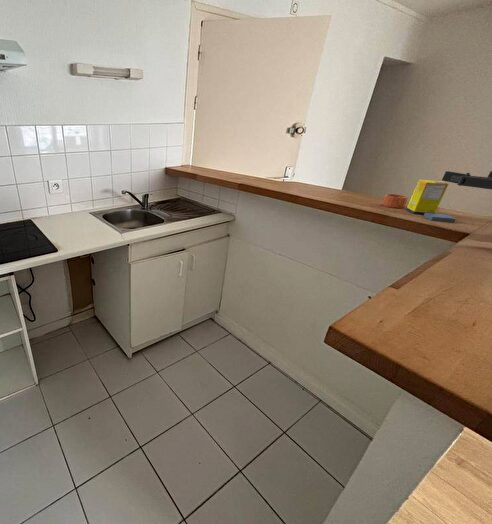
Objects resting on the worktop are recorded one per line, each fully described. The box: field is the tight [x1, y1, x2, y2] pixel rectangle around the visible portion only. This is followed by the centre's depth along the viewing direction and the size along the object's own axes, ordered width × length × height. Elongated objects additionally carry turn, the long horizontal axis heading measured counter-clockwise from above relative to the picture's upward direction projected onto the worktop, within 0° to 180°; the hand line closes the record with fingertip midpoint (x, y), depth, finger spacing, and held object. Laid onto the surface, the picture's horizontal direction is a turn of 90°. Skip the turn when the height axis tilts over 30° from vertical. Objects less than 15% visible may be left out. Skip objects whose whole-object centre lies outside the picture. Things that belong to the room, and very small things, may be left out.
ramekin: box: [381, 193, 409, 209], centre depth 106 cm, size 7×7×4 cm
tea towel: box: [423, 213, 457, 223], centre depth 93 cm, size 6×5×1 cm
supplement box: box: [405, 179, 450, 215], centre depth 97 cm, size 6×6×11 cm
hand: (466, 175), depth 85 cm, fingers open, 13 cm apart
